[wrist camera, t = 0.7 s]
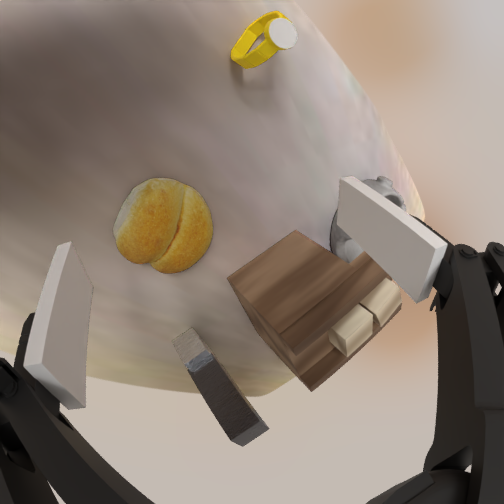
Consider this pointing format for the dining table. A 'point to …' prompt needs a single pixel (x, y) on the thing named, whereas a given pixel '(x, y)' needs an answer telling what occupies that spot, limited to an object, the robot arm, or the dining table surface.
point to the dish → (343, 242)
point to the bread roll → (163, 225)
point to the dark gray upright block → (219, 389)
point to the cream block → (382, 301)
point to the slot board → (305, 302)
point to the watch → (276, 38)
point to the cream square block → (351, 330)
